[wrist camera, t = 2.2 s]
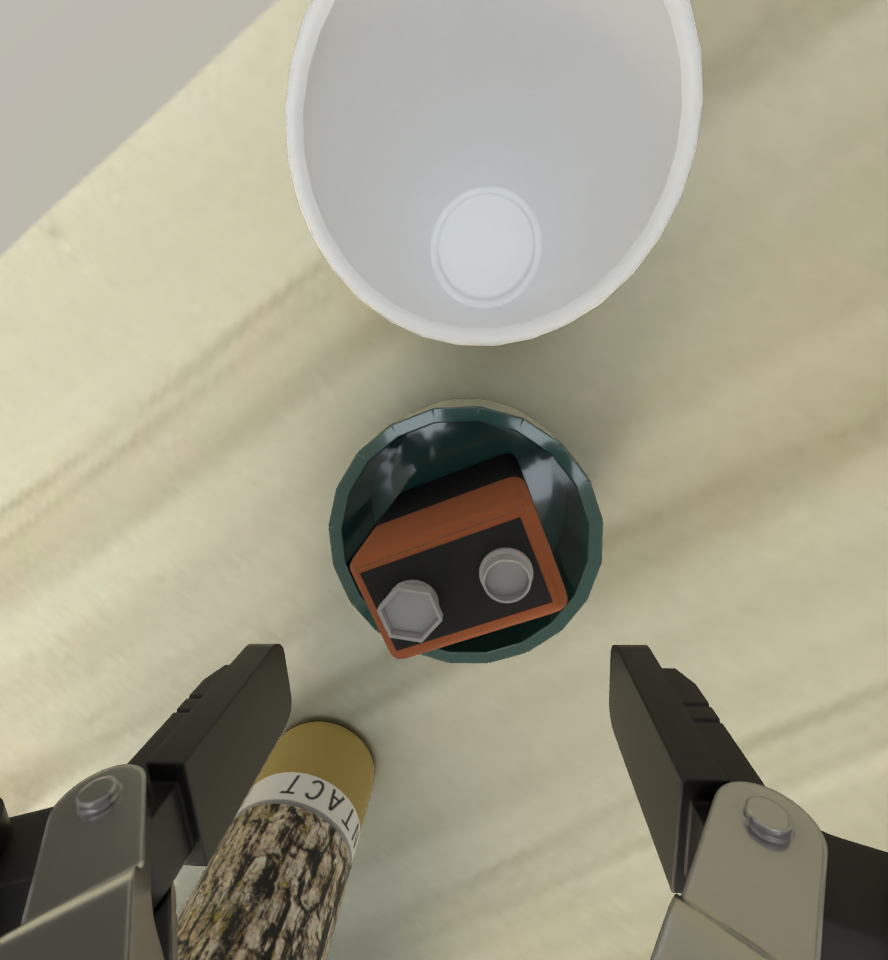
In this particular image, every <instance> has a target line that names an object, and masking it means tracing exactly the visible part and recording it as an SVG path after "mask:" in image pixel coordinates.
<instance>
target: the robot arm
mask: <svg viewBox="0 0 888 960" xmlns="http://www.w3.org/2000/svg"><path fill="white" fill-rule="evenodd" d="M609 710H610V718H611V723H612V728H613V731H614V734H615V737H616V740H617V743H618V745H619V748H620V751H621V754H622V756H623V759H624V762H625V765H626V767H627V770H628V773H629V776H630V778H631V781H632V784H633V787H634V789H635V792H636V795H637V798H638V800H639V803H640V806H641V809H642V811H643V814H644V817H645V820H646V822H647V825H648V828H649V831H650V833H651V836H652V839H653V842H654V844H655V847H656V850H657V853H658V855H659V858H660V861H661V864H662V867H663V869H664V872H665V875H666V878H667V880H668V883H669V886H670V889H671V891H672V893H682V894H681V896H679V895H678V894H675V895H674V897H673V898H672V900H671V903H670V905H669V907H668V910H667V913H666V916H665V919H664V921H663V924H662V927H661V930H660V933H659V936H658V939H657V941H656V944H655V947H654V950H653V953H652V956H651V959H650V960H888V852H885V851H881V850H878V849H875V848H871V847H868V846H865V845H861V844H858V843H855V842H851V841H848V840H845V839H841V838H839V837H836V836H833V835H830V834H828V833H825V832H823V831H821V830H820V828H819V827H818V825H817V824H816V822H815V821H814V820H813V819H812V818H811V817H810V816H809V814H807V813H806V812H805V811H804V810H803V809H802V808H801V807H800V806H798V805H797V804H796V803H795V802H793V801H792V800H790V799H789V798H787V797H786V796H784V795H782V794H781V793H779V792H777V791H775V790H773V789H770V788H768V787H765V785H764V784H763V782H762V781H761V779H760V778H759V776H758V775H757V774H756V772H755V771H754V769H753V768H752V766H751V765H750V763H749V762H748V760H747V759H746V757H745V756H744V754H743V753H742V752H741V750H740V749H739V747H738V746H737V744H736V743H735V741H734V740H733V738H732V737H731V735H730V734H729V732H728V731H727V730H726V728H725V727H724V725H723V724H722V723H720V720H719V718H718V716H717V715H716V713H715V712H714V710H713V709H712V708H711V707H709V703H708V702H707V700H706V699H705V697H704V696H703V694H702V693H701V691H700V690H699V688H698V687H697V686H696V684H695V683H693V682H692V681H691V680H689V679H688V678H687V677H686V676H684V675H683V674H682V673H680V672H679V671H678V670H676V669H670V668H661V666H660V665H659V663H658V661H657V660H656V658H655V656H654V655H653V653H652V651H651V650H650V648H649V647H648V646H647V645H613V646H612V648H611V659H610V689H609ZM290 711H291V692H290V685H289V679H288V673H287V666H286V660H285V653H284V649H283V647H282V646H281V645H280V644H249V645H247V646H246V647H245V648H244V649H243V650H242V651H241V653H240V654H239V655H238V656H237V657H236V658H235V660H234V661H233V662H232V663H231V664H230V665H225V666H223V667H222V668H220V669H219V670H217V671H216V672H214V673H213V674H211V675H210V676H208V677H207V678H205V679H204V680H203V681H202V682H201V683H200V685H199V686H198V687H197V688H196V689H195V690H194V691H193V692H192V693H191V694H190V697H189V699H186V700H185V701H184V702H183V703H182V704H181V705H180V707H179V708H178V709H177V712H176V713H173V714H172V715H171V716H170V718H169V719H168V720H167V721H166V722H165V723H164V724H163V725H162V726H161V727H160V729H159V730H158V731H157V732H156V733H155V734H154V735H153V736H152V737H151V738H150V740H149V741H148V742H147V743H146V744H145V745H144V746H143V747H142V748H141V749H140V751H139V752H138V753H137V754H136V755H135V756H134V757H133V758H132V759H131V760H130V762H129V763H128V764H123V765H117V766H113V767H110V768H107V769H104V770H102V771H100V772H97V773H95V774H93V775H91V776H90V777H88V778H86V779H84V780H83V781H81V782H80V783H78V784H77V785H76V786H74V787H73V788H72V789H71V790H69V791H68V792H67V793H66V794H65V795H64V796H63V797H62V798H61V799H60V800H59V801H58V802H57V804H56V805H55V806H54V807H51V808H47V809H43V810H39V811H34V812H30V813H26V814H22V815H18V816H14V817H10V818H9V816H8V814H7V811H6V808H5V805H4V802H3V800H2V799H1V798H0V960H178V940H177V914H176V892H175V886H174V883H173V881H174V879H175V878H176V876H177V874H178V873H179V871H180V870H181V868H182V866H183V865H192V866H208V864H209V862H210V861H211V859H212V857H213V855H214V853H215V852H216V850H217V848H218V846H219V844H220V843H221V841H222V839H223V837H224V836H225V834H226V832H227V830H228V828H229V827H230V825H231V823H232V821H233V819H234V818H235V816H236V814H237V812H238V811H239V809H240V807H241V805H242V803H243V802H244V800H245V798H246V796H247V794H248V793H249V791H250V789H251V787H252V785H253V784H254V782H255V780H256V778H257V777H258V775H259V773H260V771H261V769H262V768H263V766H264V764H265V762H266V760H267V759H268V757H269V755H270V753H271V751H272V750H273V748H274V746H275V744H276V743H277V741H278V739H279V737H280V735H281V734H282V732H283V730H284V728H285V726H286V724H287V722H288V719H289V716H290Z"/></svg>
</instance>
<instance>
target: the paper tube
mask: <svg viewBox="0 0 888 960" xmlns="http://www.w3.org/2000/svg"><path fill="white" fill-rule="evenodd" d="M374 774H375V771H374V763H373V760H372V757H371V755H370V753H369V751H368V749H367V747H366V746H365V744H364V743H363V742H362V740H361V739H360V738H359V737H358V736H356V735H355V734H354V733H353V732H351V731H350V730H348V729H346V728H344V727H342V726H340V725H337V724H333V723H329V722H320V721H317V722H308V723H304V724H301V725H299V726H296V727H294V728H292V729H290V730H289V731H287V732H286V733H285V734H284V735H283V736H282V737H281V738H280V739H279V741H278V742H277V743H276V745H275V747H274V749H273V750H272V752H271V754H270V756H269V758H268V759H267V761H266V763H265V765H264V767H263V768H262V770H261V772H260V774H259V775H258V777H257V779H256V781H255V783H254V784H253V786H252V788H251V790H250V791H249V793H248V794H247V796H246V798H245V800H244V802H243V803H242V805H241V807H240V809H239V811H238V812H237V814H236V816H235V818H234V819H233V821H232V823H231V825H230V827H229V828H228V830H227V832H226V834H225V836H224V837H223V839H222V841H221V843H220V844H219V846H218V848H217V850H216V852H215V853H214V855H213V857H212V859H211V861H210V862H209V864H208V866H207V867H206V869H205V871H204V873H203V874H202V876H201V878H200V880H199V882H198V883H197V885H196V887H195V889H194V891H193V892H192V894H191V896H190V898H189V899H188V901H187V903H186V905H185V907H184V908H183V910H182V912H181V914H180V915H179V917H178V919H177V940H178V960H326V959H327V955H328V951H329V948H330V944H331V940H332V937H333V933H334V929H335V925H336V922H337V918H338V914H339V911H340V907H341V903H342V899H343V896H344V892H345V888H346V885H347V881H348V877H349V873H350V869H351V866H352V862H353V859H354V855H355V851H356V847H357V844H358V840H359V836H360V831H361V827H362V824H363V820H364V816H365V812H366V809H367V805H368V801H369V798H370V794H371V790H372V787H373V782H374Z"/></svg>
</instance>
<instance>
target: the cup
mask: <svg viewBox="0 0 888 960" xmlns="http://www.w3.org/2000/svg"><path fill="white" fill-rule="evenodd" d="M702 106H703V86H702V59H701V48H700V43H699V39H698V34H697V30H696V25H695V21H694V17H693V12H692V8H691V3H690V0H312V1H311V3H310V5H309V7H308V9H307V11H306V13H305V16H304V18H303V21H302V25H301V28H300V32H299V35H298V39H297V42H296V46H295V49H294V53H293V56H292V60H291V63H290V71H289V80H288V89H287V98H286V107H285V118H286V138H287V157H288V161H289V166H290V170H291V175H292V180H293V184H294V189H295V193H296V198H297V201H298V203H299V206H300V208H301V211H302V213H303V216H304V218H305V221H306V223H307V225H308V228H309V230H310V233H311V235H312V238H313V239H314V241H315V243H316V244H317V246H318V247H319V249H320V250H321V252H322V254H323V255H324V257H325V258H326V260H327V262H328V263H329V265H330V266H331V268H332V269H333V271H334V272H335V273H336V275H337V276H338V277H339V278H340V279H341V280H342V281H343V282H344V283H345V284H346V285H347V286H348V287H349V289H350V290H351V291H352V292H353V293H354V294H355V295H356V296H357V297H358V298H359V299H360V300H361V301H362V302H363V303H365V304H366V305H368V306H369V307H370V308H372V309H373V310H374V311H376V312H377V313H378V314H380V315H381V316H383V317H384V318H385V319H387V320H388V321H389V322H391V323H393V324H395V325H398V326H400V327H402V328H404V329H406V330H408V331H411V332H413V333H415V334H417V335H419V336H422V337H424V338H429V339H433V340H437V341H442V342H446V343H450V344H455V345H467V346H498V345H503V344H509V343H514V342H520V341H525V340H531V339H533V338H536V337H538V336H541V335H544V334H546V333H549V332H551V331H554V330H556V329H559V328H561V327H564V326H566V325H568V324H570V323H571V322H573V321H574V320H576V319H578V318H579V317H581V316H582V315H584V314H585V313H587V312H589V311H590V310H592V309H593V308H595V307H596V306H598V305H600V304H601V303H602V302H603V301H604V300H606V299H607V298H608V297H609V296H610V295H611V294H612V293H613V292H614V291H615V290H616V289H617V288H618V287H620V286H621V285H622V284H623V283H624V282H625V281H626V280H627V279H628V278H629V277H630V276H631V275H632V274H633V273H634V272H635V271H636V269H637V268H638V267H639V265H640V264H641V263H642V261H643V260H644V259H645V257H646V256H647V255H648V253H649V252H650V251H651V249H652V248H653V247H654V245H655V244H656V243H657V242H658V240H659V239H660V237H661V235H662V233H663V231H664V230H665V228H666V226H667V224H668V222H669V220H670V218H671V216H672V214H673V212H674V210H675V208H676V206H677V204H678V203H679V201H680V199H681V197H682V194H683V190H684V187H685V184H686V181H687V178H688V175H689V172H690V169H691V165H692V162H693V159H694V156H695V153H696V148H697V141H698V134H699V127H700V120H701V113H702Z"/></svg>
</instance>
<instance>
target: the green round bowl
mask: <svg viewBox="0 0 888 960" xmlns="http://www.w3.org/2000/svg"><path fill="white" fill-rule="evenodd" d="M506 453H510V454H513V455H514V456H515V457H516V458H517V460H518V463H519V465H520V468H521V471H522V473H523V476H524V479H525V481H526V484H527V487H528V489H529V492H530V495H531V497H532V500H533V502H534V505H535V508H536V510H537V513H538V516H539V518H540V521H541V524H542V527H543V529H544V532H545V535H546V538H547V540H548V543H549V546H550V549H551V551H552V554H553V557H554V559H555V562H556V565H557V568H558V570H559V573H560V576H561V579H562V581H563V584H564V587H565V590H566V593H567V603H566V605H565V607H564V608H563V609H561V610H559V611H557V612H554V613H551V614H548V615H545V616H542V617H539V618H536V619H532V620H529V621H526V622H523V623H519V624H516V625H513V626H510V627H506V628H503V629H500V630H497V631H493V632H490V633H487V634H484V635H480V636H477V637H474V638H471V639H467V640H464V641H461V642H458V643H454V644H451V645H448V646H445V647H441V648H438V649H435V650H432V651H428V652H425V653H422V654H420V655H423V656H426V657H430V658H433V659H437V660H440V661H444V662H449V663H488V662H489V663H491V662H494V661H498V660H502V659H505V658H509V657H512V656H516V655H520V654H523V653H526V652H529V651H530V650H532V649H533V648H535V647H537V646H538V645H540V644H541V643H543V642H544V641H546V640H548V639H549V638H551V637H552V636H554V635H556V634H557V633H559V632H560V631H561V630H563V628H564V627H565V626H566V625H567V624H568V622H569V621H570V620H571V619H572V618H573V616H574V615H575V614H576V613H577V612H578V610H579V609H580V608H581V607H582V606H583V604H584V603H585V602H586V601H587V599H588V597H589V594H590V591H591V589H592V586H593V584H594V581H595V578H596V576H597V573H598V571H599V568H600V565H601V561H602V536H603V521H602V520H603V519H602V516H601V512H600V509H599V506H598V503H597V500H596V497H595V494H594V491H593V488H592V485H591V482H590V480H589V478H588V476H587V475H586V474H585V473H584V471H583V470H582V469H581V467H580V466H579V465H578V463H577V462H576V461H575V460H574V458H573V457H572V456H571V454H570V453H569V452H568V450H567V449H566V448H565V447H564V445H563V444H562V443H561V442H560V441H559V440H558V439H557V438H555V437H554V436H553V435H552V434H551V433H550V432H549V431H548V430H547V429H546V428H545V427H544V426H542V425H541V424H539V423H538V422H536V421H535V420H533V419H532V418H530V417H529V416H527V415H526V414H524V413H523V412H521V411H520V410H518V409H517V408H514V407H511V406H507V405H504V404H500V403H497V402H493V401H489V400H485V399H480V398H474V399H455V400H444V401H440V402H438V403H435V404H433V405H430V406H428V407H425V408H422V409H420V410H417V411H415V412H412V413H411V414H409V415H407V416H405V417H403V418H402V419H400V420H398V421H396V422H395V423H393V424H391V425H389V426H388V427H387V428H386V429H385V430H384V431H382V432H381V433H380V434H379V435H378V436H376V437H375V438H374V439H373V440H372V441H370V442H369V443H368V444H367V445H366V446H364V447H363V448H362V449H361V450H360V451H359V452H358V453H357V454H356V456H355V458H354V459H353V461H352V463H351V464H350V466H349V468H348V469H347V471H346V473H345V474H344V476H343V478H342V479H341V481H340V483H339V484H338V487H337V488H336V493H335V497H334V502H333V507H332V512H331V517H330V522H329V535H330V543H331V551H332V559H333V565H334V568H335V570H336V573H337V575H338V577H339V579H340V581H341V583H342V585H343V588H344V590H345V592H346V594H347V596H348V598H349V600H350V602H351V603H352V605H353V606H354V607H355V608H356V609H357V610H358V611H359V612H360V613H361V615H362V616H363V617H364V618H365V619H366V620H367V621H368V622H369V623H370V625H371V626H372V627H373V628H374V629H375V630H377V631H378V632H379V633H380V631H379V629H378V627H377V625H376V623H375V620H374V618H373V616H372V614H371V612H370V610H369V608H368V606H367V604H366V602H365V600H364V597H363V595H362V593H361V591H360V589H359V587H358V585H357V583H356V581H355V579H354V577H353V574H352V572H351V570H350V564H351V561H352V560H353V558H354V556H355V555H356V554H357V552H358V551H359V549H360V548H361V547H362V545H363V544H364V542H365V541H366V539H367V538H368V537H369V535H370V534H371V532H372V531H373V530H374V528H375V527H376V525H377V524H378V522H379V521H380V520H381V518H382V517H383V515H384V514H385V513H386V511H387V510H388V508H389V507H390V506H391V504H392V503H393V501H394V500H395V498H396V497H397V496H398V495H399V494H400V493H402V492H404V491H407V490H409V489H412V488H414V487H417V486H420V485H422V484H425V483H428V482H430V481H433V480H435V479H438V478H441V477H443V476H446V475H449V474H451V473H454V472H457V471H459V470H462V469H464V468H467V467H470V466H472V465H475V464H478V463H480V462H483V461H486V460H488V459H491V458H494V457H496V456H499V455H502V454H506Z"/></svg>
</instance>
